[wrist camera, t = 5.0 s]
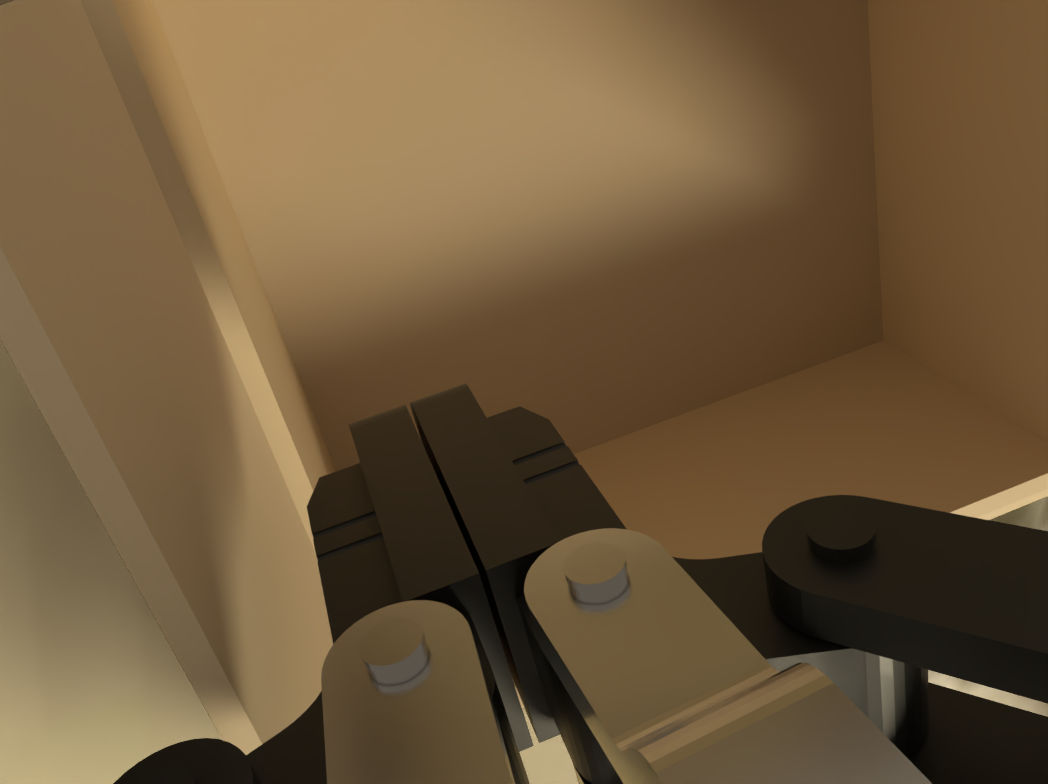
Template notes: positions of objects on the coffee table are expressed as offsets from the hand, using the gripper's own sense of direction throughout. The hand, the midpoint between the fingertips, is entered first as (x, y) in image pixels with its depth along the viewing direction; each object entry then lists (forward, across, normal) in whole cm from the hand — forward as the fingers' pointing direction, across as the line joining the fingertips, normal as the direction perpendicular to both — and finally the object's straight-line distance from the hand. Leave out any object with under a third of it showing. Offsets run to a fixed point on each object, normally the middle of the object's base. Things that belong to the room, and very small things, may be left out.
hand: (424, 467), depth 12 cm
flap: (+3, +2, 0) cm, 3 cm away
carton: (+10, -6, 0) cm, 11 cm away
